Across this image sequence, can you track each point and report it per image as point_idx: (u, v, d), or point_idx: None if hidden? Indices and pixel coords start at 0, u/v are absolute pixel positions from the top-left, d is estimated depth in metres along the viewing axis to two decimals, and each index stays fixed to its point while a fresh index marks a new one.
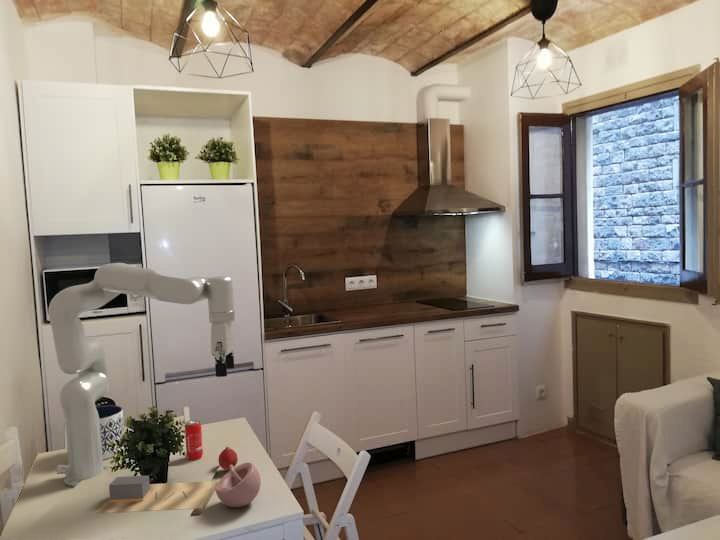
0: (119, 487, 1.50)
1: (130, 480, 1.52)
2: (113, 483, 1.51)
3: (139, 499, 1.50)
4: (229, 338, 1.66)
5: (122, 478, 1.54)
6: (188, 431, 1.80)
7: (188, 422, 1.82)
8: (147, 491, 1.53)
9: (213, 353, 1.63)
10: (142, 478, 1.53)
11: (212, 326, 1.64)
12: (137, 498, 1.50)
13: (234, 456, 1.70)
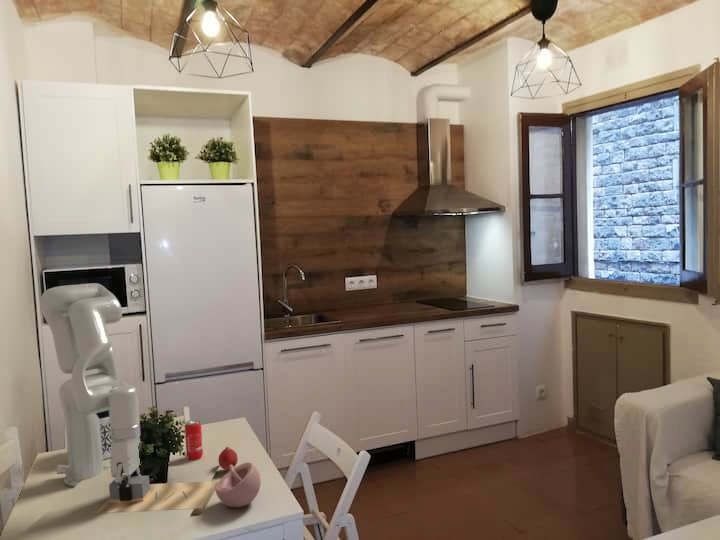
0: None
1: (130, 480, 1.52)
2: (113, 483, 1.51)
3: (139, 499, 1.50)
4: (132, 456, 1.50)
5: (122, 478, 1.54)
6: (188, 431, 1.80)
7: (188, 422, 1.82)
8: (147, 491, 1.53)
9: (113, 475, 1.47)
10: (142, 478, 1.53)
11: (112, 445, 1.47)
12: (137, 498, 1.50)
13: (234, 456, 1.70)
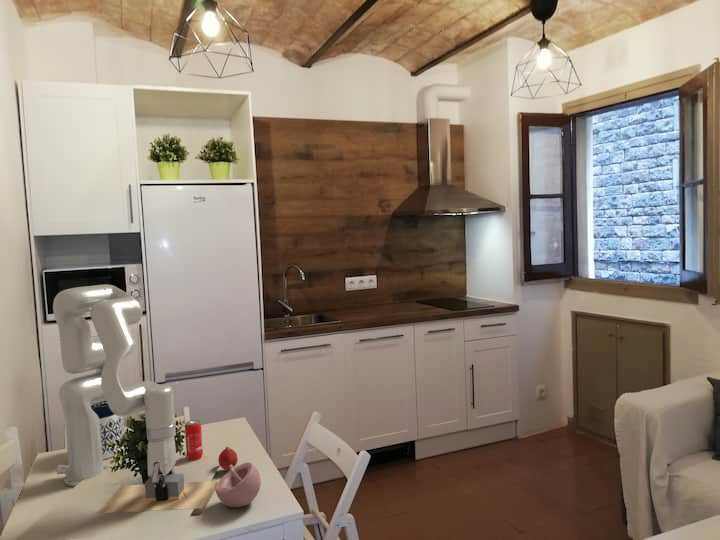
0: None
1: None
2: (148, 481, 1.51)
3: (175, 497, 1.50)
4: (168, 456, 1.50)
5: None
6: (188, 431, 1.80)
7: (188, 422, 1.82)
8: (182, 489, 1.54)
9: (150, 474, 1.47)
10: (177, 476, 1.53)
11: (149, 444, 1.48)
12: (173, 496, 1.50)
13: (234, 456, 1.70)
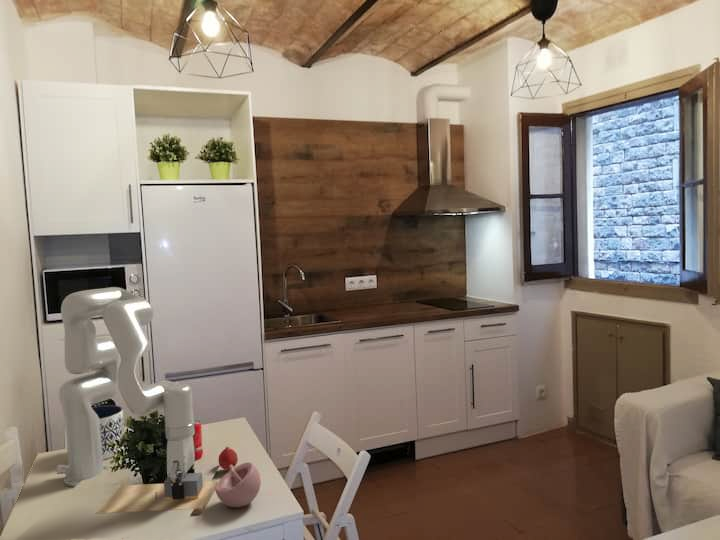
0: None
1: (184, 478, 1.52)
2: (167, 480, 1.51)
3: (194, 496, 1.50)
4: (187, 454, 1.50)
5: None
6: None
7: None
8: (201, 488, 1.54)
9: (169, 473, 1.47)
10: (196, 476, 1.53)
11: (168, 443, 1.48)
12: (192, 495, 1.50)
13: (234, 456, 1.70)
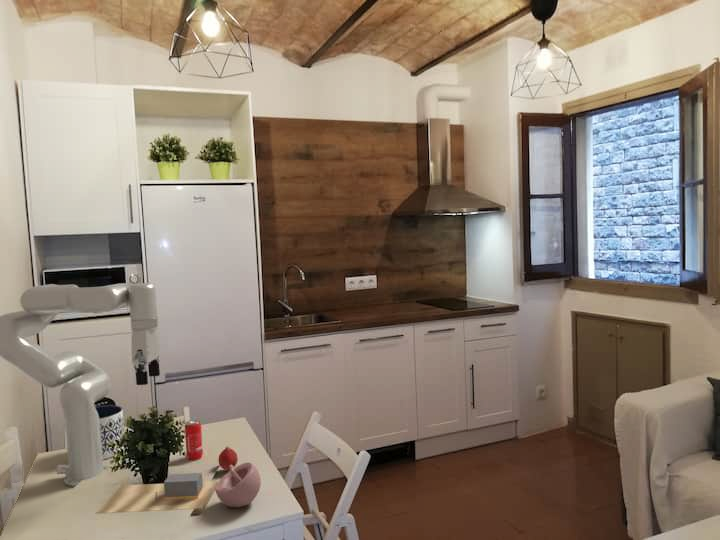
0: (174, 484, 1.50)
1: (184, 478, 1.52)
2: (167, 480, 1.51)
3: (194, 496, 1.50)
4: (151, 346, 1.64)
5: (175, 475, 1.54)
6: (188, 431, 1.80)
7: (188, 422, 1.82)
8: (201, 488, 1.54)
9: None
10: (196, 476, 1.53)
11: (132, 334, 1.62)
12: (192, 495, 1.50)
13: (234, 456, 1.70)
